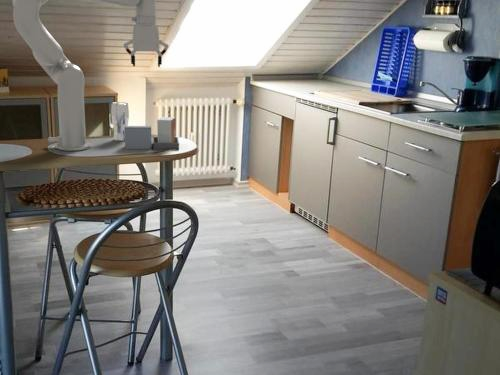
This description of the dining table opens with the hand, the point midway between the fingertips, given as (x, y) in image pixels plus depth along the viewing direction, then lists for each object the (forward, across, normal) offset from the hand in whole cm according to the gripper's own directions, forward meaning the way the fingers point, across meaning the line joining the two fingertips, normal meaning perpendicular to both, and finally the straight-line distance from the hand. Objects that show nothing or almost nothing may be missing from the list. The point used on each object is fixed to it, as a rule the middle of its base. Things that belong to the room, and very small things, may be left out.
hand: (146, 66), depth 235 cm
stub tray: (+30, +7, -8) cm, 32 cm away
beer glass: (+31, -11, +5) cm, 33 cm away
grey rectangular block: (+30, -4, -10) cm, 32 cm away
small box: (+30, +8, -8) cm, 32 cm away
